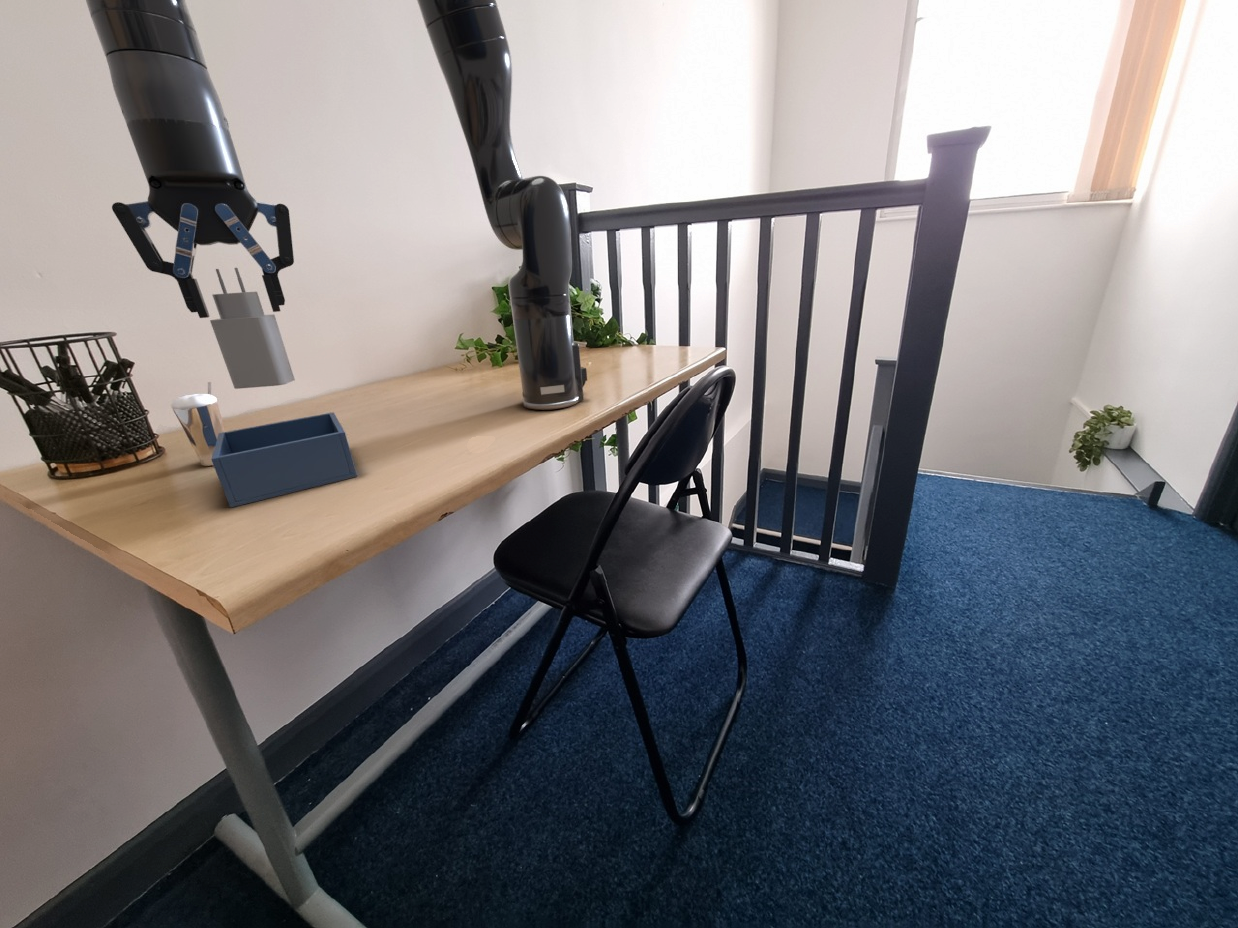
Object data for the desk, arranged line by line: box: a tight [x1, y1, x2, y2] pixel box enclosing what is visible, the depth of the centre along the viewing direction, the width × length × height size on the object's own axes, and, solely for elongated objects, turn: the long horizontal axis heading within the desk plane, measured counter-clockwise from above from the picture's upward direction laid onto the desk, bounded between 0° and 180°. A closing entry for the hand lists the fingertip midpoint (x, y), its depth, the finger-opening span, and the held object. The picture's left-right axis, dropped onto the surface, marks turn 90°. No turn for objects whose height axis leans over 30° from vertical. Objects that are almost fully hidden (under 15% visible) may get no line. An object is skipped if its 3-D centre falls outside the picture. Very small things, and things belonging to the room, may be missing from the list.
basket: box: [211, 411, 358, 508], centre depth 58 cm, size 12×11×6 cm
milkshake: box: [170, 381, 226, 467], centre depth 64 cm, size 4×5×10 cm
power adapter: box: [209, 267, 296, 390], centre depth 53 cm, size 3×5×12 cm, turn 95°
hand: (242, 313), depth 52 cm, fingers closed on power adapter, 5 cm apart
